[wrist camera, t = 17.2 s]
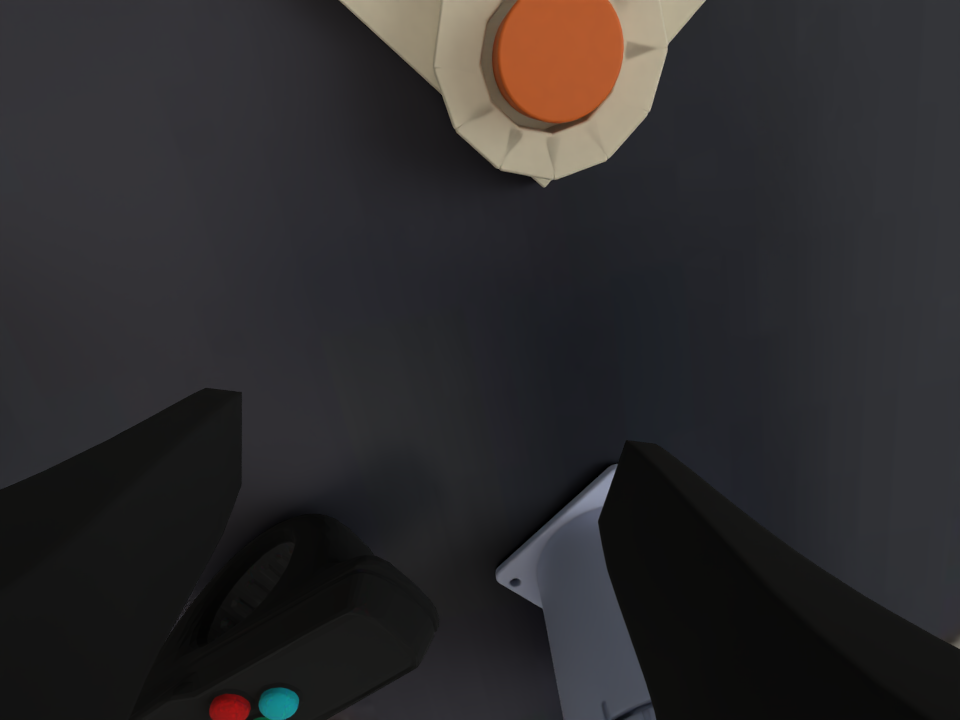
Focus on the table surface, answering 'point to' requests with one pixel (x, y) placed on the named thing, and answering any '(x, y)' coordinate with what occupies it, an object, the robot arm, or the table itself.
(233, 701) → the controller
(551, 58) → the tare button
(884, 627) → the robot arm
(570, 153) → the scale
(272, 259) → the table surface
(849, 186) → the table surface
